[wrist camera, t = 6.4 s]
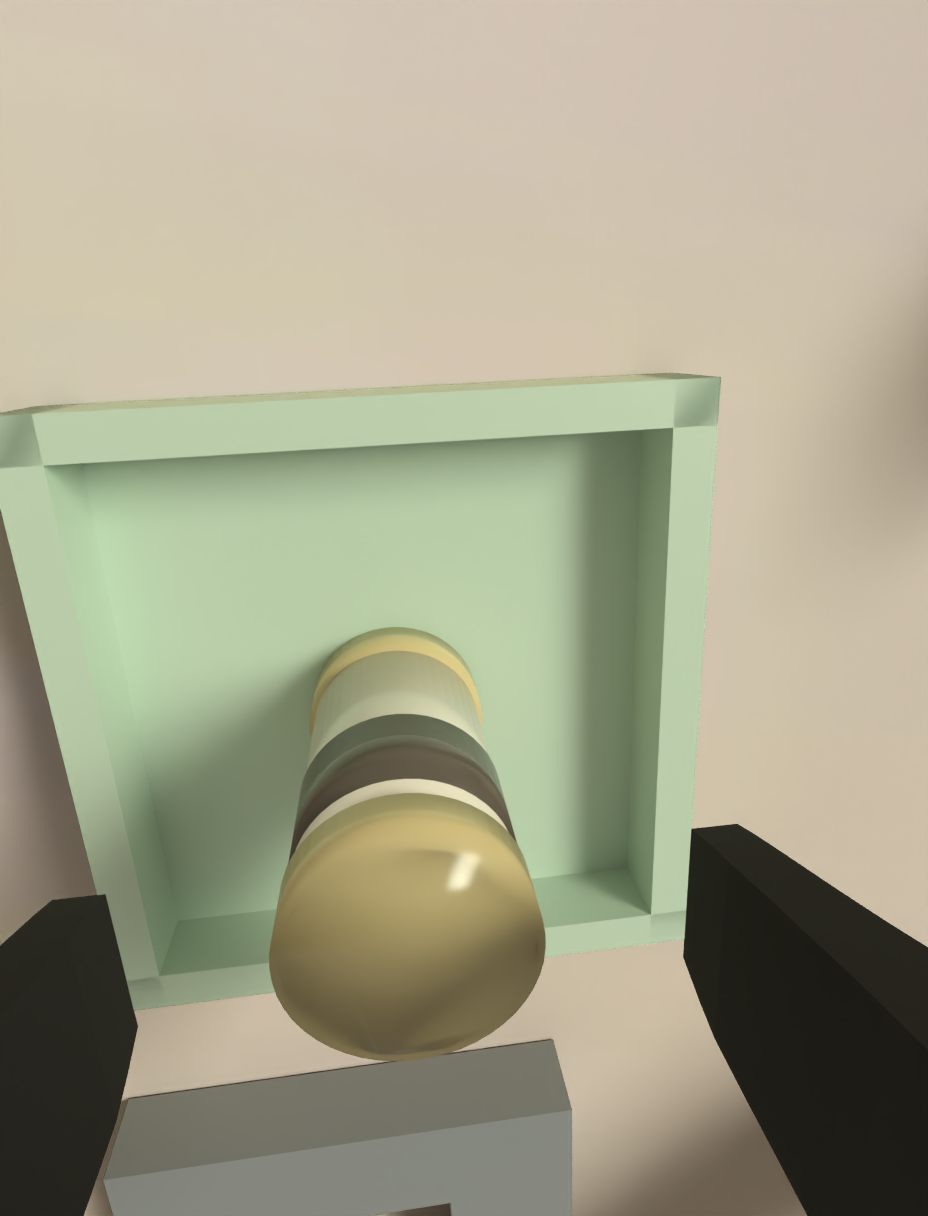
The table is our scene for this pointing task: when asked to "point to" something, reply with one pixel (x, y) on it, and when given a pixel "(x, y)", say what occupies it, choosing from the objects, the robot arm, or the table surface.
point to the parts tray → (355, 604)
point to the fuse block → (356, 1142)
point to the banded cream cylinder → (402, 862)
